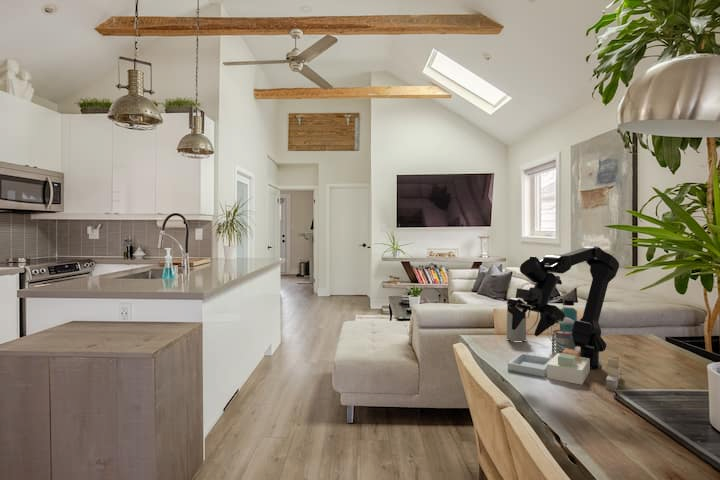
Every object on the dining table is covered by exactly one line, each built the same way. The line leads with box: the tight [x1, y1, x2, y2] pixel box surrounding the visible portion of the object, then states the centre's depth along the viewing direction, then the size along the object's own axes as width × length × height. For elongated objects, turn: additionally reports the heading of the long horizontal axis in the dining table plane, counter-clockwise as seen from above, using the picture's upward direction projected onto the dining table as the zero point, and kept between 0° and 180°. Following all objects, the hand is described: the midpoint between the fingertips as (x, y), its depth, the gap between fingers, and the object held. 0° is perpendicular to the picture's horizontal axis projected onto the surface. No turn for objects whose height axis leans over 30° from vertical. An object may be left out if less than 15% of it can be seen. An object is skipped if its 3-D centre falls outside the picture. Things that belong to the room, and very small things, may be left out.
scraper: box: [605, 355, 621, 392], centre depth 130 cm, size 14×2×8 cm, turn 144°
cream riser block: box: [546, 353, 591, 386], centre depth 138 cm, size 15×10×4 cm, turn 144°
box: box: [507, 352, 553, 378], centre depth 145 cm, size 15×12×2 cm
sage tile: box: [558, 353, 576, 367], centre depth 135 cm, size 4×4×2 cm
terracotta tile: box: [562, 348, 580, 361], centre depth 141 cm, size 4×4×2 cm
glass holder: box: [505, 305, 540, 341], centre depth 183 cm, size 9×14×15 cm, turn 93°
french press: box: [547, 290, 576, 358], centre depth 157 cm, size 10×12×25 cm
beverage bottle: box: [558, 298, 578, 348], centre depth 167 cm, size 6×7×20 cm
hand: (523, 332), depth 134 cm, fingers open, 9 cm apart
